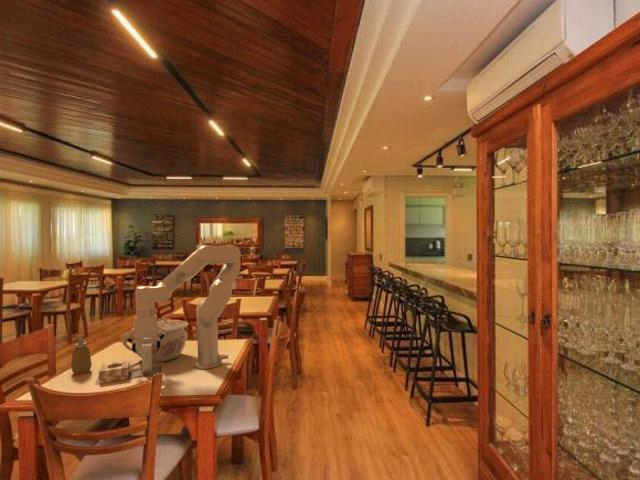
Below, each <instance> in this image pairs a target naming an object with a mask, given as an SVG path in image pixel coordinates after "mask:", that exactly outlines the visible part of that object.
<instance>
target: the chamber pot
mask: <svg viewBox="0 0 640 480" xmlns="http://www.w3.org/2000/svg"><path fill="white" fill-rule="evenodd" d="M157 322H158V327H160V328H162V329H165V330H166V333H165V335H164V337H163V338H162V339H161V341H160V347H159V350H157V339H156V338H155V337H154V338H147V339H138V340H136V342H135V343H136V353H135V354H136V355H137V356H138V357H140V358H141V359H142V345H143V344H151V343H152V363H157V362H158V363H159V362H163V363H164V362H168V361H171V360H174V359H176V358H177V357H179V356H180V355H181V353H182V351H183V350H184V349H185V347H186V341H187V331H186V330H185V328H187V327H188V326H189V325H190V324H189V322H188V321H185V320H180V319H167V318H163V317H161V318H157ZM132 330H134V327H132V328H131V330H128V331H127V332H125V333H124V335H123V336H122V341H121V343H122V345H123V346H124V347H125V348H126V349H127V350H128V351H130V352H133V353H134V351H132V346H130V345H128V343H127V339H126V337H125V334H127V333H129V332H130V331H132ZM162 333H163V332H161V331H158V336H161V335H162ZM130 336H133V337H134V333H133V334H131V335H130Z"/></svg>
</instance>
